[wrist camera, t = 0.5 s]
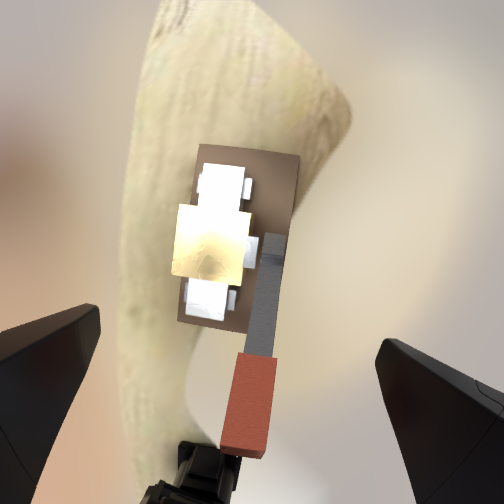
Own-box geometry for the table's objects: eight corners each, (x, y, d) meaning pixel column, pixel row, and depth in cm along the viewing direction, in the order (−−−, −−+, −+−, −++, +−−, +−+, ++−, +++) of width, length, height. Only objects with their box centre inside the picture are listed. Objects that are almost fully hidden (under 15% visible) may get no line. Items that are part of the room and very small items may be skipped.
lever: (284, 258, 19) (260, 459, 10) (259, 254, 19) (220, 453, 11) (289, 235, 18) (265, 451, 9) (261, 231, 18) (219, 444, 9)
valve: (251, 310, 24) (244, 334, 19) (186, 298, 24) (164, 319, 19) (270, 178, 23) (269, 166, 18) (202, 169, 23) (183, 157, 18)
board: (271, 332, 25) (271, 337, 24) (181, 316, 26) (177, 321, 25) (298, 158, 24) (299, 155, 22) (202, 147, 24) (199, 143, 23)
